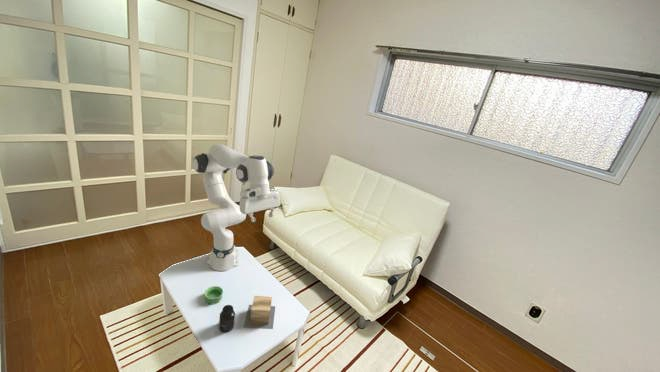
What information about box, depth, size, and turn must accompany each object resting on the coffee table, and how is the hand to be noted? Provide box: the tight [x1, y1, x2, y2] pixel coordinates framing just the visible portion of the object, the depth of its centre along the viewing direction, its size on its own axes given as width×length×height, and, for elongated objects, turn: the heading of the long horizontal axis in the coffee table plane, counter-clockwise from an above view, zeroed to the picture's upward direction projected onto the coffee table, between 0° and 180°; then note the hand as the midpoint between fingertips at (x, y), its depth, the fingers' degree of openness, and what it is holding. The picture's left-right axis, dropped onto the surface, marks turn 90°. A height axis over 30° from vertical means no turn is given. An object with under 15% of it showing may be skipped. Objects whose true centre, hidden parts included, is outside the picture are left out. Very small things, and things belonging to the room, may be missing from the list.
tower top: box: [251, 295, 273, 318], centre depth 134 cm, size 9×9×4 cm
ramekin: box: [204, 285, 224, 305], centre depth 141 cm, size 9×9×4 cm
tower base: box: [250, 317, 269, 324], centre depth 136 cm, size 9×9×4 cm
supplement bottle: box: [218, 304, 236, 334], centre depth 126 cm, size 7×7×12 cm
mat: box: [243, 304, 276, 330], centre depth 137 cm, size 14×14×1 cm
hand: (262, 219), depth 126 cm, fingers open, 8 cm apart
